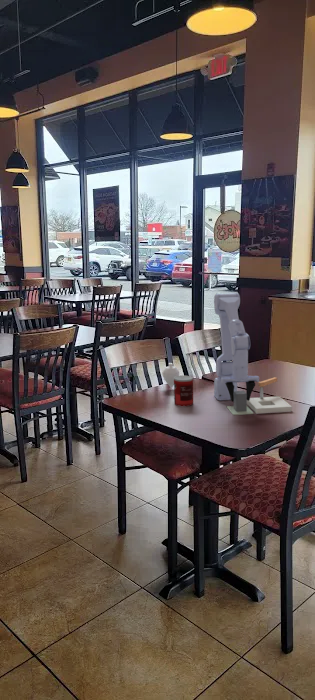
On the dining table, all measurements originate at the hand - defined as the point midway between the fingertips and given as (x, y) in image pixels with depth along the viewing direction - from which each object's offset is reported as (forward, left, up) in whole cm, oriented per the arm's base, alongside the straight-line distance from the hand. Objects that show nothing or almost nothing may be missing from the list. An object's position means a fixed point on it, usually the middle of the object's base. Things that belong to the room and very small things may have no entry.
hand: (240, 400), depth 199 cm
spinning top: (-22, +36, -4) cm, 42 cm away
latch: (+15, +10, +3) cm, 18 cm away
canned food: (-20, +13, -4) cm, 24 cm away
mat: (0, 0, -4) cm, 4 cm away
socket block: (+11, +2, -4) cm, 12 cm away
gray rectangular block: (0, 0, -4) cm, 4 cm away
